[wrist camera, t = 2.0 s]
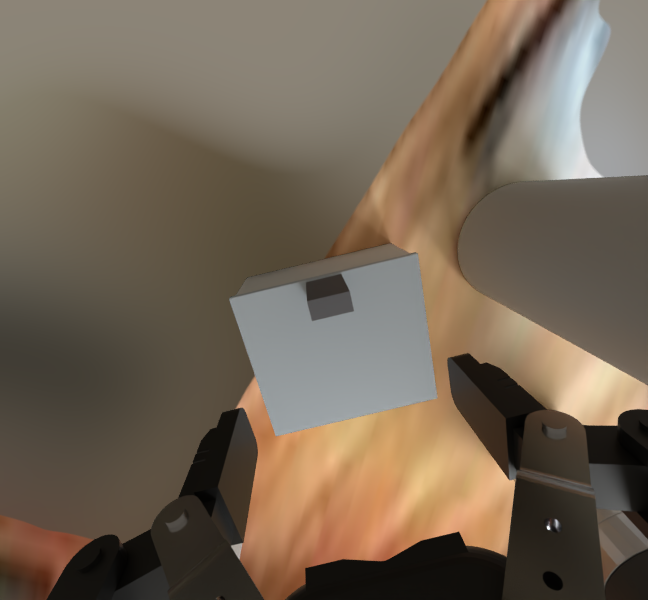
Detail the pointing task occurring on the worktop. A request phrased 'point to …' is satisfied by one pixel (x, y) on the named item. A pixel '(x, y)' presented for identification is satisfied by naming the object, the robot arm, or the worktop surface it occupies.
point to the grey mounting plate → (339, 344)
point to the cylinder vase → (568, 261)
